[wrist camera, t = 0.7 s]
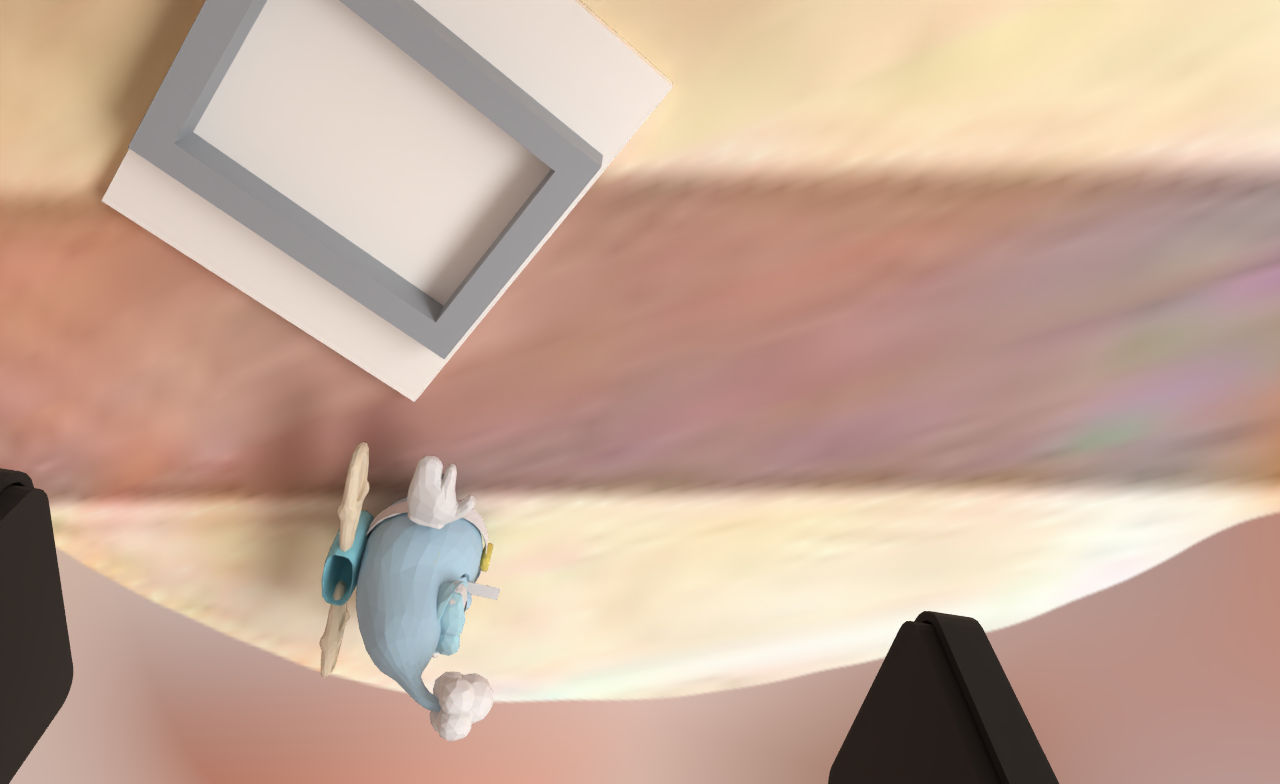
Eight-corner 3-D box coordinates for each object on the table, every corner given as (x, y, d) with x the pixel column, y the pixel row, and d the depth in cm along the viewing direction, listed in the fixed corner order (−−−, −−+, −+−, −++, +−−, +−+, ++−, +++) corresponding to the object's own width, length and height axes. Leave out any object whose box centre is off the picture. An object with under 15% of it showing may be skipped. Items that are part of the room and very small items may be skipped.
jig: (332, -218, 35) (307, -225, 32) (672, 82, 41) (674, 96, 38) (112, 194, 44) (78, 214, 41) (418, 392, 49) (405, 421, 47)
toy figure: (497, 630, 59) (456, 841, 46) (340, 598, 57) (253, 807, 45) (552, 431, 51) (520, 620, 38) (371, 388, 49) (274, 570, 36)
